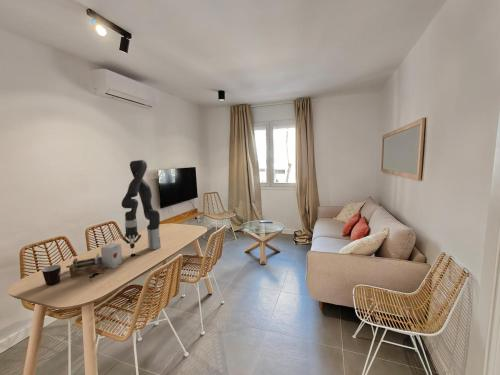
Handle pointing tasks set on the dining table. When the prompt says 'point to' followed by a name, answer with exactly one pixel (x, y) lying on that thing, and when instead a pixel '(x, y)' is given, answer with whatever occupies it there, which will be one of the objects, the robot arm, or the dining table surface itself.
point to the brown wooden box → (85, 267)
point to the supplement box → (111, 255)
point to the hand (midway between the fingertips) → (132, 248)
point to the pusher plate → (97, 261)
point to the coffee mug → (52, 274)
